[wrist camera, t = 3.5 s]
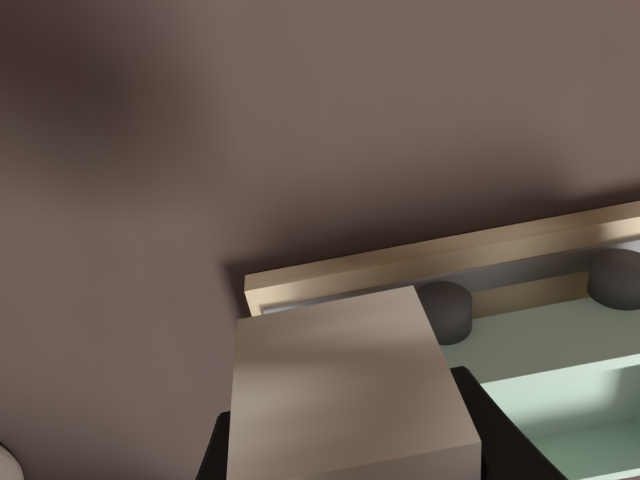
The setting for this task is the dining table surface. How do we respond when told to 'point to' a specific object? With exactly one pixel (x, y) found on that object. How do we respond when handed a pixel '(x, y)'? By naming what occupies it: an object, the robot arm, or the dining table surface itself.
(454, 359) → the cart
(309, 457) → the block
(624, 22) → the dining table surface
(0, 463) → the coffee cup
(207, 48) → the dining table surface
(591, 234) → the track board
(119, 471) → the dining table surface
